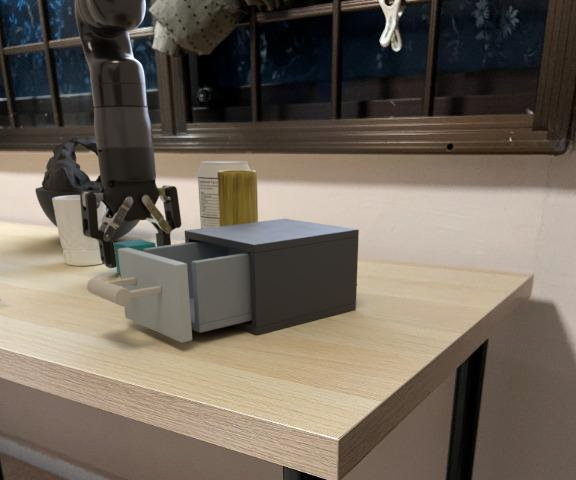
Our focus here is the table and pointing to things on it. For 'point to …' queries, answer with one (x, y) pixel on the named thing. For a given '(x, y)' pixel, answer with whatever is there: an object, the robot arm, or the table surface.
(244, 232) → the grey drawer cabinet
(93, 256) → the white cup
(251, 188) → the vase
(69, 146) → the bowl of black rocks
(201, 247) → the pulled-out drawer
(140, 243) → the teal cube
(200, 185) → the supplement can
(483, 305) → the table surface
